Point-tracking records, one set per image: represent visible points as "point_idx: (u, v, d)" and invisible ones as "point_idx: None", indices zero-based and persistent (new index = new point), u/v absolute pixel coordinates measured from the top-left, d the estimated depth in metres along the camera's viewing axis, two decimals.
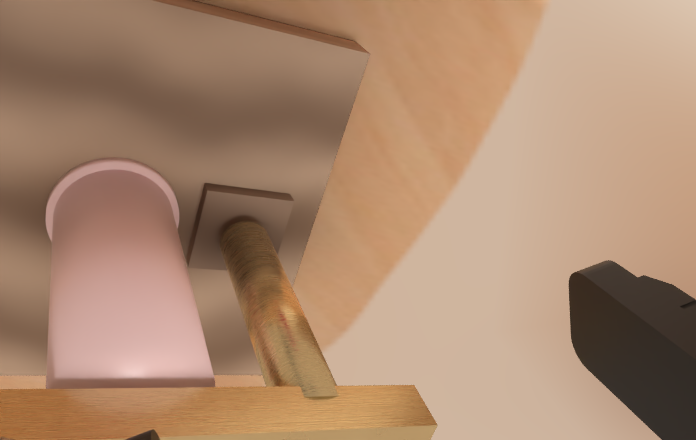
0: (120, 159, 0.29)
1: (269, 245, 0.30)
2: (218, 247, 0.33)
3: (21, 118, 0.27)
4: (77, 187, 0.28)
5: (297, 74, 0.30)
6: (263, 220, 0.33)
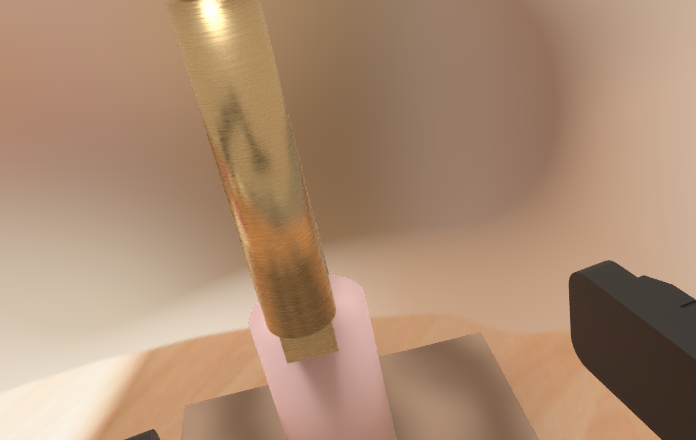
0: None
1: None
2: None
3: None
4: None
5: (208, 435, 0.40)
6: None
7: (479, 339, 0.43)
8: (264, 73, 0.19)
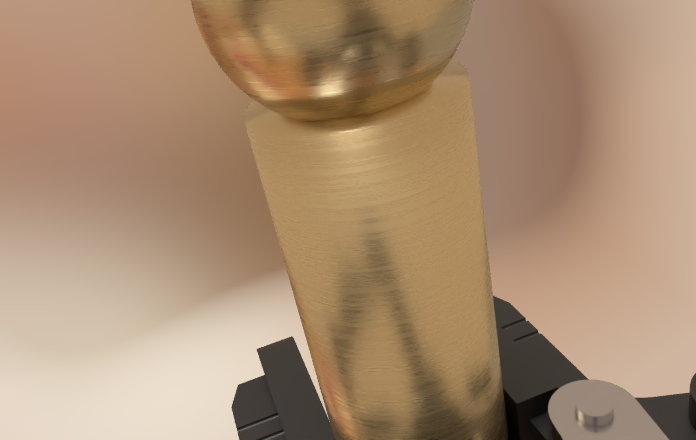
0: None
1: None
2: None
3: None
4: None
5: None
6: None
7: None
8: (477, 282, 0.08)
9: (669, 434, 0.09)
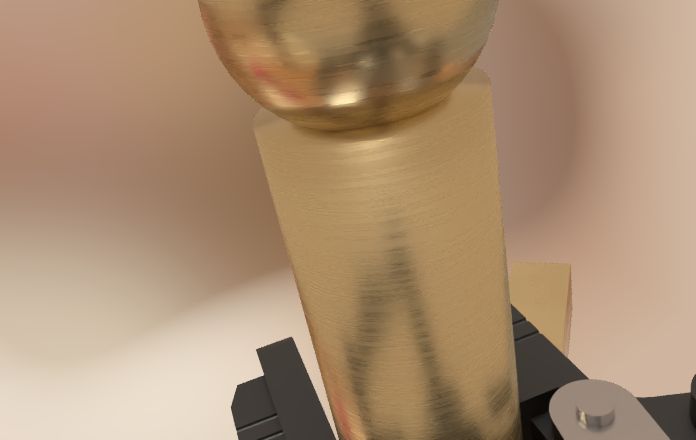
0: None
1: None
2: None
3: None
4: None
5: None
6: None
7: None
8: (461, 327, 0.07)
9: (670, 434, 0.09)
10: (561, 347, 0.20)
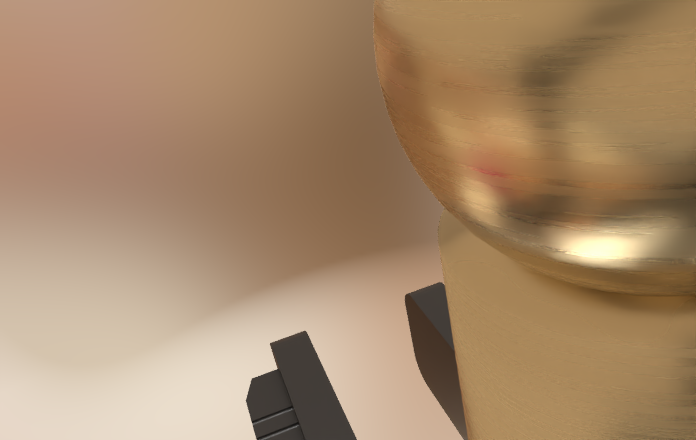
0: None
1: None
2: None
3: None
4: None
5: None
6: None
7: None
8: None
9: None
10: None
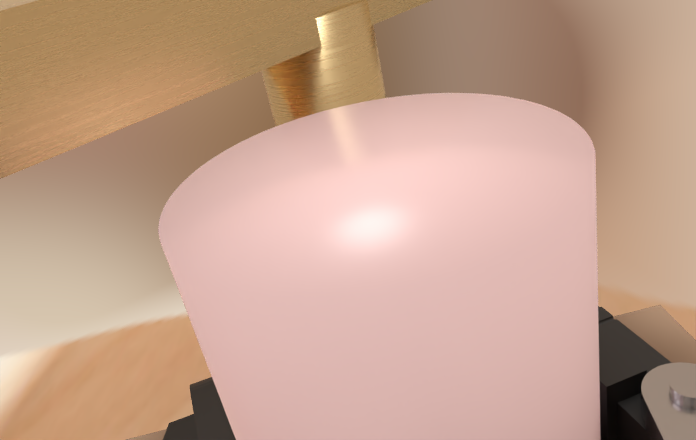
0: None
1: None
2: None
3: None
4: None
5: None
6: None
7: (662, 318, 0.22)
8: None
9: None
10: None
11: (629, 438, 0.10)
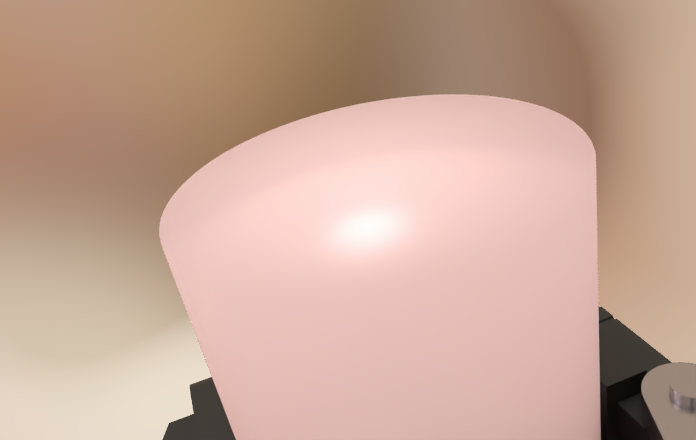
0: None
1: None
2: None
3: None
4: None
5: None
6: None
7: None
8: None
9: None
10: None
11: (629, 438, 0.10)
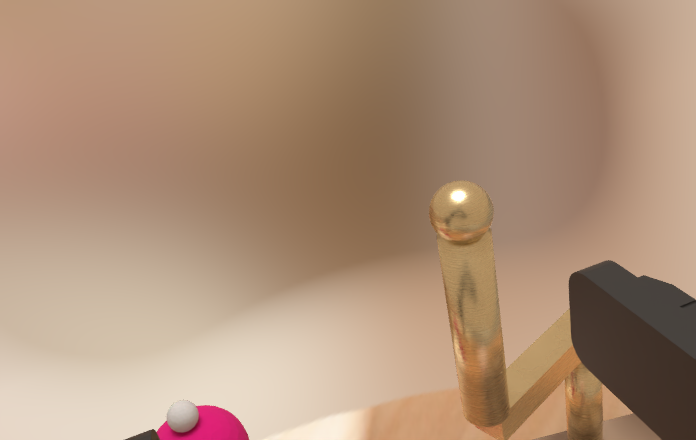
0: None
1: None
2: None
3: None
4: None
5: None
6: None
7: None
8: (473, 289, 0.31)
9: None
10: None
11: None
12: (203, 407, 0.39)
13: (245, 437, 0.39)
